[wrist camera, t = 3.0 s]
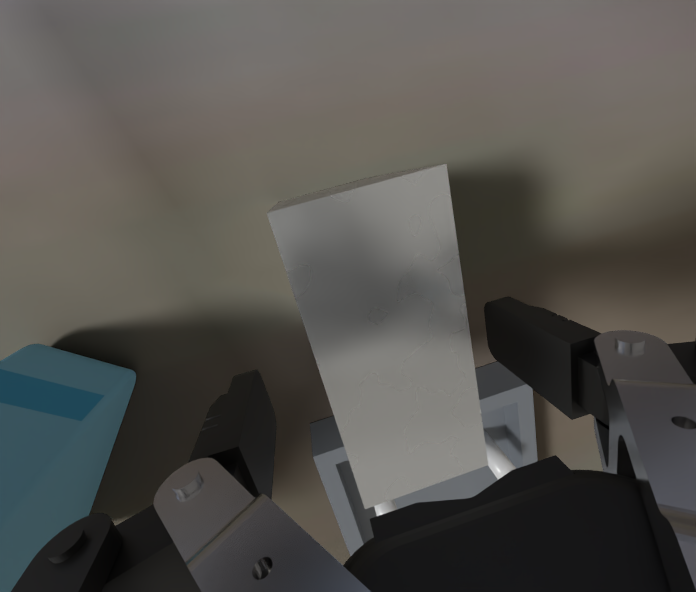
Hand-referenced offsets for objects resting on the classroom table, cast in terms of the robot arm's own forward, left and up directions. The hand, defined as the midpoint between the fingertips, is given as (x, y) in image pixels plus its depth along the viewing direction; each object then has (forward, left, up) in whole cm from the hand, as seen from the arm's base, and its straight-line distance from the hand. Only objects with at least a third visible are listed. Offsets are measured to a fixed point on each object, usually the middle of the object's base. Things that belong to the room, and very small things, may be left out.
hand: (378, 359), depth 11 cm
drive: (-1, 0, -7) cm, 7 cm away
